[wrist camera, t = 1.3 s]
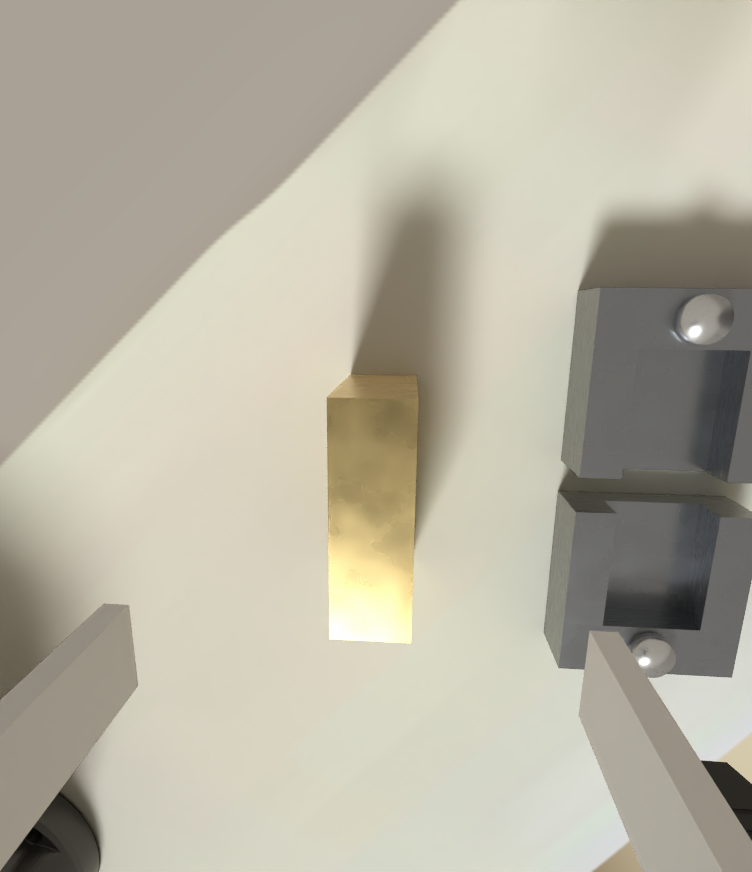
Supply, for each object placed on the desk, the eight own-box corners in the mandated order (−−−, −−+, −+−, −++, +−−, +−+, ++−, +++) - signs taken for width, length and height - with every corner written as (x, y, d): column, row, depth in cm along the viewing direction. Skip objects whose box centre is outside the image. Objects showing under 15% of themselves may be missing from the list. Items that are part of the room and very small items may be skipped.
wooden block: (350, 555, 34) (329, 639, 25) (350, 374, 31) (326, 397, 22) (411, 557, 33) (410, 643, 25) (416, 375, 31) (418, 399, 22)
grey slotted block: (543, 632, 34) (562, 677, 30) (578, 290, 29) (606, 286, 25) (699, 640, 33) (740, 687, 29) (762, 292, 28) (823, 288, 24)
